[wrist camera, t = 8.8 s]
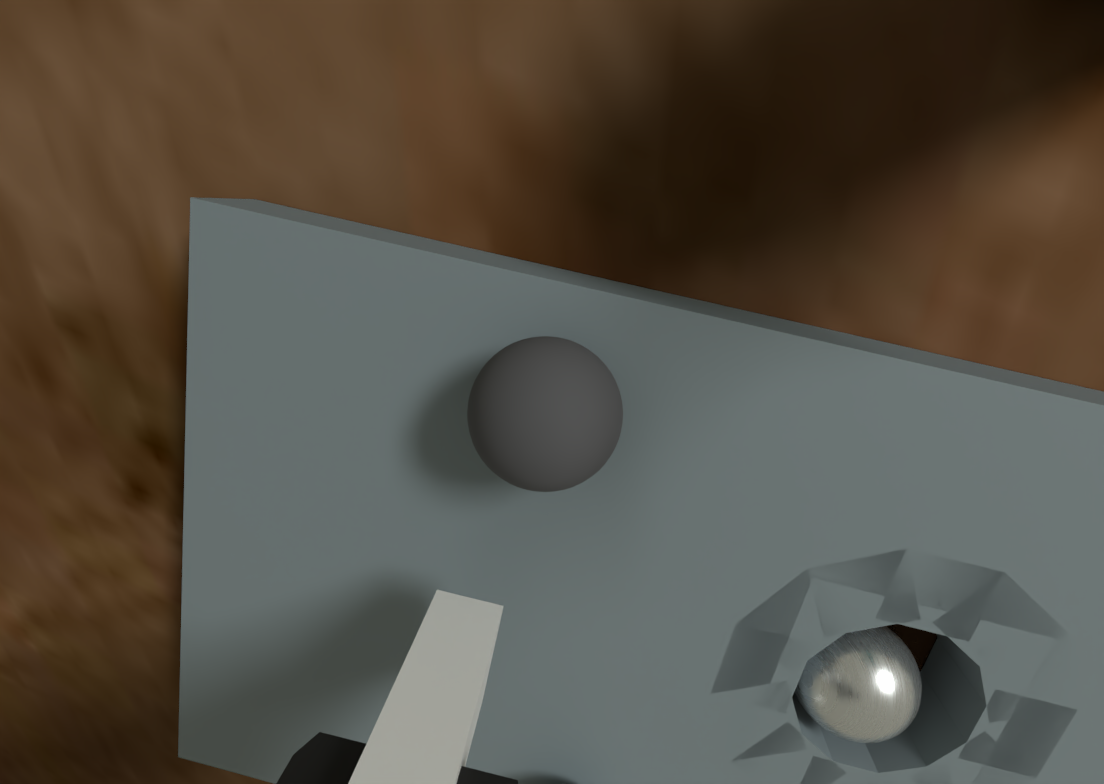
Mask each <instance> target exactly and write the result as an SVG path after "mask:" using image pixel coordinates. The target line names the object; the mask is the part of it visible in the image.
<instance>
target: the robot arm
mask: <svg viewBox="0 0 1104 784" xmlns="http://www.w3.org/2000/svg"><path fill="white" fill-rule="evenodd" d="M503 607H504V606H502V605H498V604H494V603H490V602H486V601H481V600H477V599H473V598H469V597H465V596H461V595H457V594H453V593H449V592H445V591H441V590H437V591H436V593H435V595H434V598H433V600H432V602H431V604H430V606H429V608H428V611H427V613H426V615H425V617H424V619H423V622H422V624H421V626H420V628H419V630H418V632H417V635H416V637H415V639H414V641H413V643H412V646H411V648H410V650H409V652H408V654H407V656H406V659H405V661H404V663H403V665H402V667H401V670H400V672H399V674H398V676H397V678H396V681H395V683H394V685H393V687H392V689H391V691H390V694H389V696H388V698H387V700H386V702H385V705H384V707H383V709H382V711H381V713H380V715H379V718H378V720H377V722H376V724H375V726H374V729H373V731H372V733H371V735H370V737H369V739H368V742H367V744H366V743H362V742H358V741H354V740H350V739H346V738H342V737H338V736H334V735H330V734H326V733H322V732H319V733H318V734H317V735H315V736H314V737H313V738H312V739H311V740H310V741H308V742H307V743H306V744H305V745H304V746H303V747H302V748H300V749H299V750H298V751H297V752H296V753H295V754H293V756H292V757H291V759H290V761H289V763H288V764H287V766H286V768H285V769H284V771H283V773H282V775H281V776H280V778H279V780H278V782H277V783H276V784H518V780H515V779H512V778H508V777H504V776H500V775H496V774H492V773H488V772H484V771H480V770H476V769H472V768H468V767H465V765H466V762H467V758H468V754H469V750H470V747H471V743H472V739H473V735H474V731H475V728H476V724H477V720H478V716H479V712H480V709H481V705H482V701H483V696H484V692H485V687H486V683H487V678H488V674H489V669H490V665H491V660H492V656H493V652H494V647H495V643H496V638H497V634H498V629H499V625H500V620H501V616H502V611H503Z"/></svg>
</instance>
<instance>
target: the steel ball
mask: <svg viewBox="0 0 1104 784" xmlns="http://www.w3.org/2000/svg"><path fill="white" fill-rule="evenodd" d="M795 694H796V696H797V698H798V700H799V702H800V704H801V705H802V707H803V708H804V709H805V711H806V712H807V713H808V714H809V715H810V717H811V718H812V719H813V720H814V721H816V722H817V723H818V724H819V725H820V726H821V727H823V728H824V729H826V730H827V731H829V732H831V733H833V734H834V735H836V736H838V737H841V738H843V739H846V740H849V741H854V742H860V743H877V742H882V741H886V740H889V739H891V738H893V737H895V736H897V735H899V734H900V733H901V732H903V731H904V730H905V729H906V728H907V727H908V726H909V725H910V724H911V723H912V721H913V719H914V718H915V716H916V714H917V712H918V710H919V706H920V702H921V696H922V683H921V677H920V672H919V669H918V666H917V663H916V661H915V659H914V657H913V655H912V653H911V651H910V650H909V648H908V647H907V646H906V644H905V643H904V642H903V641H902V640H901V638H900V637H899V636H898V635H897V634H896V633H895V632H893V631H892V630H891V629H890V628H888V627H887V626H882V627H877V628H871V629H866V630H860V631H855V632H849V633H845V634H844V635H843V636H841V637H840V638H838V639H837V640H836V641H834V642H833V643H831V644H830V645H829V646H827V647H826V648H824V649H823V650H822V651H820V652H819V653H817V654H816V655H815V656H813V657H812V658H810V659H809V660H808V661H807V663H806V665H805V668H804V670H803V673H802V675H801V677H800V680H799V682H798V684H797V687H796V689H795Z"/></svg>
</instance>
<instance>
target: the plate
mask: <svg viewBox="0 0 1104 784" xmlns="http://www.w3.org/2000/svg"><path fill="white" fill-rule="evenodd" d="M540 336H551V337H559V338H564V339H567V340H571V341H573V342H576V343H578V344H580V345H582V346H584V347H585V348H587V349H589V350H590V351H591V352H593V353H594V354H595V355H596V356H598V357H599V358H600V360H601V361H602V362H603V363H604V364H605V365H606V366H607V368H608V369H609V370H610V372H611V373H612V375H613V377H614V379H615V381H616V383H617V385H618V388H619V391H620V395H621V399H622V406H623V423H622V428H621V434H620V437H619V440H618V443H617V445H616V447H615V449H614V451H613V453H612V455H611V456H610V458H609V459H608V461H607V462H606V463H605V465H604V466H603V467H602V468H601V469H600V470H599V471H598V472H597V473H595V474H594V475H593V476H592V477H590V478H589V479H587V480H586V481H584V482H582V483H581V484H578V485H576V486H574V487H572V488H568V489H565V490H560V491H555V492H536V491H530V490H525V489H522V488H519V487H516V486H514V485H512V484H509V483H508V482H506V481H504V480H503V479H501V478H500V477H499V476H497V475H496V474H495V473H494V472H493V471H492V470H490V469H489V468H488V467H487V465H486V464H485V463H484V462H483V460H482V459H481V458H480V456H479V455H478V453H477V451H476V449H475V447H474V445H473V443H472V439H471V436H470V433H469V428H468V422H467V409H468V400H469V396H470V392H471V389H472V386H473V384H474V381H475V379H476V378H477V376H478V374H479V372H480V371H481V369H482V368H483V367H484V365H485V364H486V363H487V362H488V361H489V360H490V359H491V358H492V357H493V356H494V355H495V354H496V353H498V352H499V351H500V350H502V349H503V348H505V347H507V346H508V345H510V344H512V343H514V342H517V341H520V340H522V339H527V338H531V337H540ZM437 590H441V591H445V592H449V593H453V594H457V595H461V596H465V597H469V598H473V599H477V600H481V601H486V602H490V603H494V604H498V605H502V606H504V607H503V611H502V616H501V620H500V625H499V629H498V634H497V638H496V643H495V647H494V652H493V656H492V660H491V665H490V669H489V674H488V678H487V683H486V687H485V692H484V696H483V701H482V705H481V709H480V712H479V716H478V720H477V724H476V728H475V731H474V735H473V739H472V743H471V747H470V750H469V754H468V758H467V762H466V765H465V767H468V768H472V769H476V770H480V771H484V772H488V773H492V774H496V775H500V776H504V777H508V778H512V779H515V780H518V784H1104V392H1102V391H1098V390H1093V389H1089V388H1085V387H1080V386H1076V385H1071V384H1067V383H1062V382H1058V381H1054V380H1049V379H1045V378H1040V377H1036V376H1032V375H1027V374H1023V373H1018V372H1014V371H1010V370H1005V369H1001V368H996V367H992V366H987V365H983V364H979V363H974V362H970V361H965V360H961V359H957V358H952V357H948V356H943V355H939V354H935V353H930V352H926V351H921V350H917V349H913V348H908V347H904V346H899V345H895V344H890V343H886V342H882V341H877V340H873V339H868V338H864V337H860V336H855V335H851V334H846V333H842V332H838V331H833V330H829V329H824V328H820V327H815V326H811V325H807V324H802V323H798V322H793V321H789V320H785V319H780V318H776V317H771V316H767V315H763V314H758V313H754V312H749V311H745V310H741V309H736V308H732V307H727V306H723V305H718V304H714V303H710V302H705V301H701V300H696V299H692V298H688V297H683V296H679V295H674V294H670V293H666V292H661V291H657V290H652V289H648V288H643V287H639V286H635V285H630V284H626V283H621V282H617V281H613V280H608V279H604V278H599V277H595V276H591V275H586V274H582V273H577V272H573V271H569V270H564V269H560V268H555V267H551V266H546V265H542V264H538V263H533V262H529V261H524V260H520V259H516V258H511V257H507V256H502V255H498V254H494V253H489V252H485V251H480V250H476V249H471V248H467V247H463V246H458V245H454V244H449V243H445V242H441V241H436V240H432V239H427V238H423V237H419V236H414V235H410V234H405V233H401V232H397V231H392V230H388V229H383V228H379V227H374V226H370V225H366V224H361V223H357V222H352V221H348V220H344V219H339V218H335V217H330V216H326V215H322V214H317V213H313V212H308V211H304V210H299V209H295V208H291V207H286V206H282V205H277V204H273V203H269V202H264V201H260V200H255V199H225V198H191V197H190V240H189V285H188V330H187V376H186V421H185V467H184V512H183V557H182V603H181V648H180V693H179V739H178V757H180V758H183V759H187V760H191V761H194V762H198V763H202V764H205V765H209V766H213V767H216V768H220V769H223V770H227V771H231V772H234V773H238V774H242V775H245V776H249V777H252V778H256V779H260V780H263V781H267V782H271V783H274V784H276V783H277V782H278V780H279V778H280V776H281V775H282V773H283V771H284V769H285V768H286V766H287V764H288V763H289V761H290V759H291V757H292V756H293V754H295V753H296V752H297V751H298V750H299V749H300V748H302V747H303V746H304V745H305V744H306V743H307V742H308V741H310V740H311V739H312V738H313V737H314V736H315V735H317V734H318V733H319V732H322V733H326V734H330V735H334V736H338V737H342V738H346V739H350V740H354V741H358V742H362V743H366V744H367V742H368V739H369V737H370V735H371V733H372V731H373V729H374V726H375V724H376V722H377V720H378V718H379V715H380V713H381V711H382V709H383V707H384V705H385V702H386V700H387V698H388V696H389V694H390V691H391V689H392V687H393V685H394V683H395V681H396V678H397V676H398V674H399V672H400V670H401V667H402V665H403V663H404V661H405V659H406V656H407V654H408V652H409V650H410V648H411V646H412V643H413V641H414V639H415V637H416V635H417V632H418V630H419V628H420V626H421V624H422V622H423V619H424V617H425V615H426V613H427V611H428V608H429V606H430V604H431V602H432V600H433V598H434V595H435V593H436V591H437ZM894 624H900V625H904V626H908V627H912V628H916V629H920V630H924V631H928V632H932V633H936V635H937V640H936V642H935V644H934V646H933V648H932V650H931V652H930V654H929V656H928V658H927V660H926V662H925V664H924V666H923V668H922V670H921V672H920V677H921V683H922V696H921V702H920V706H919V710H918V712H917V714H916V716H915V718H914V719H913V721H912V723H911V724H910V725H909V726H908V727H907V728H906V729H905V730H904V731H903V732H901V733H900V734H899V735H897V736H895V737H893V738H891V739H889V740H886V741H882V742H877V743H860V742H854V741H849V740H846V739H843V738H841V737H838V736H836V735H834V734H833V733H831V732H829V731H827V730H826V729H824V728H823V727H821V726H820V725H819V724H818V723H817V722H816V721H814V720H813V719H812V718H811V717H810V715H809V714H808V713H807V712H806V711H805V709H804V708H803V707H802V705H801V704H800V702H799V700H798V698H797V696H796V694H795V689H796V687H797V684H798V682H799V680H800V677H801V675H802V673H803V670H804V668H805V665H806V663H807V661H808V660H809V659H810V658H812V657H813V656H815V655H816V654H817V653H819V652H820V651H822V650H823V649H824V648H826V647H827V646H829V645H830V644H831V643H833V642H834V641H836V640H837V639H838V638H840V637H841V636H843V635H844V634H845V633H849V632H855V631H860V630H866V629H871V628H877V627H882V626H888V625H894Z"/></svg>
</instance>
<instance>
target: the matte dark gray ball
mask: <svg viewBox="0 0 1104 784" xmlns="http://www.w3.org/2000/svg"><path fill="white" fill-rule="evenodd" d="M467 422H468V428H469V433H470V436H471V439H472V443H473V445H474V447H475V449H476V451H477V453H478V455H479V456H480V458H481V459H482V460H483V462H484V463H485V464H486V465H487V467H488V468H489V469H490V470H492V471H493V472H494V473H495V474H496V475H497V476H499V477H500V478H501V479H503V480H504V481H506V482H508V483H509V484H512V485H514V486H516V487H519V488H522V489H525V490H530V491H536V492H555V491H560V490H565V489H568V488H572V487H574V486H576V485H578V484H581V483H582V482H584V481H586V480H587V479H589V478H590V477H592V476H593V475H594V474H595V473H597V472H598V471H599V470H600V469H601V468H602V467H603V466H604V465H605V463H606V462H607V461H608V459H609V458H610V456H611V455H612V453H613V451H614V449H615V447H616V445H617V443H618V440H619V437H620V434H621V428H622V423H623V406H622V399H621V395H620V391H619V388H618V385H617V383H616V381H615V379H614V377H613V375H612V373H611V372H610V370H609V369H608V368H607V366H606V365H605V364H604V363H603V362H602V361H601V360H600V358H599V357H598V356H596V355H595V354H594V353H593V352H591V351H590V350H589V349H587V348H585V347H584V346H582V345H580V344H578V343H576V342H573V341H571V340H567V339H564V338H559V337H551V336H540V337H531V338H527V339H522V340H520V341H517V342H514V343H512V344H510V345H508V346H507V347H505V348H503V349H502V350H500V351H499V352H498V353H496V354H495V355H494V356H493V357H492V358H491V359H490V360H489V361H488V362H487V363H486V364H485V365H484V367H483V368H482V369H481V371H480V372H479V374H478V376H477V378H476V379H475V381H474V384H473V386H472V389H471V392H470V396H469V400H468V409H467Z"/></svg>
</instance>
